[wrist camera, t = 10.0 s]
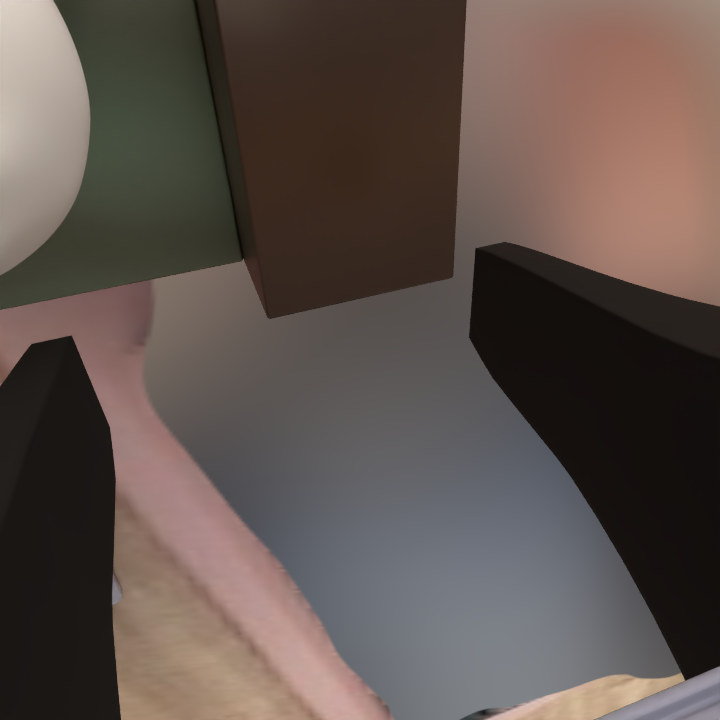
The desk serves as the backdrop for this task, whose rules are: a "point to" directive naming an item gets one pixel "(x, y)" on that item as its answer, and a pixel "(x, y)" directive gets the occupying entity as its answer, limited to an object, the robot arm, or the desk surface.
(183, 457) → the desk surface
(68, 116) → the milkshake
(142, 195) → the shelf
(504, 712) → the desk surface
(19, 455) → the robot arm
